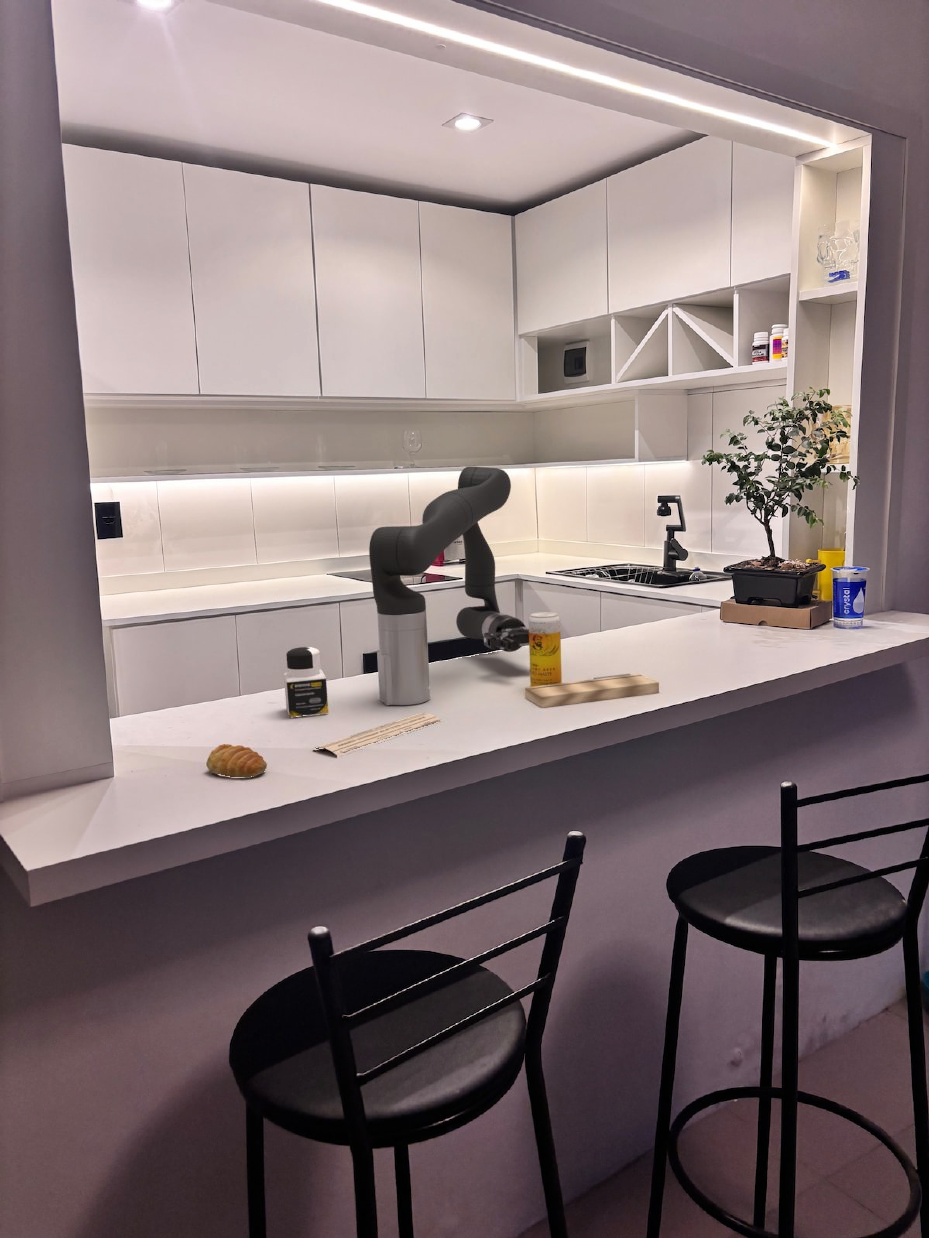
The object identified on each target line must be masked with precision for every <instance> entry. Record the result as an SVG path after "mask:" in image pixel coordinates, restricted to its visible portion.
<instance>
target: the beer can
mask: <svg viewBox="0 0 929 1238" xmlns="http://www.w3.org/2000/svg"><path fill="white" fill-rule="evenodd" d="M529 615H530V617H529V618H528V628H529V645H528V646H529V651H528V652H529V678H530V679H529V681H530V682H529V683H530V687H534V686H542V685H551V684H559V683H563V681H562V678H563V677H562V643H561V637H562V636H561V619H560V617H559V613H557V612H551V611H550V612H549V611H543V612H533V613H531V614H529Z"/></svg>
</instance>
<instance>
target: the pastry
mask: <svg viewBox="0 0 929 1238" xmlns="http://www.w3.org/2000/svg"><path fill="white" fill-rule="evenodd" d="M267 766H268V763H267V762H266V761H265V760H264V757H263V756H262V755H260V754H259V752H257V751H254V750H252V749H251V748H250V747H248V746H247V747H245V746H244V745H235V746H234V745H232V744H226V743H224V744H219V745H218V746H216V747H215V749H214V750H213V749H212V751H211V752H210V753H209V755H208V758H207V760H206V767H207V769H208V770H209V772H210V771H211V772H212V773H213V774H214V773H216V774H221V775H225V776H230V777H251V776H252V777H253V776H255V777H257V776H258V775H261V774H263V773H265V772H266V769H267ZM264 771H265V772H264ZM211 772H210V773H211ZM212 773H211V774H212ZM216 774H215V775H216ZM253 778H254V777H253Z"/></svg>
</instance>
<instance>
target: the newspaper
mask: <svg viewBox="0 0 929 1238" xmlns="http://www.w3.org/2000/svg"><path fill="white" fill-rule="evenodd" d="M436 722H439V723H441V718H439V717H437V716H435V715H434V714H431V713H425V712H420V713H417V714H413V715H411V716H408V717H405V718H401V719H399V720H395V721H392V722H389V723H386V724H383V725H379V726H377V727H374V728H371V729H367V730H364V731H362V732H357V733H356V734H352V735H349V736H345V737H343V738H339V739H337V740H334V741H330V742H328V743H324V744H321V745H318V746H315V747H314V748H316V747H318V748H316V749H319V748H325V749H326V750H328V751H330V752H332V753H333V754H334V755H335V756H336V755H338V754H341V753H346V752H348V751H350V750H353V749H357V748H360V747H362V746H366V745H368V744H371V743H376V742H378V741H380V740H383V739H387V738H390V737H392V736H397V735H399V734H401V733H403V732H408V731H411V730H413V729H418V728H421V727H424V726H428V725H431V724H434V723H436ZM436 724H437V723H436ZM434 725H435V724H434ZM431 726H432V725H431ZM428 727H429V726H428ZM325 749H324V750H325Z"/></svg>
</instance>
